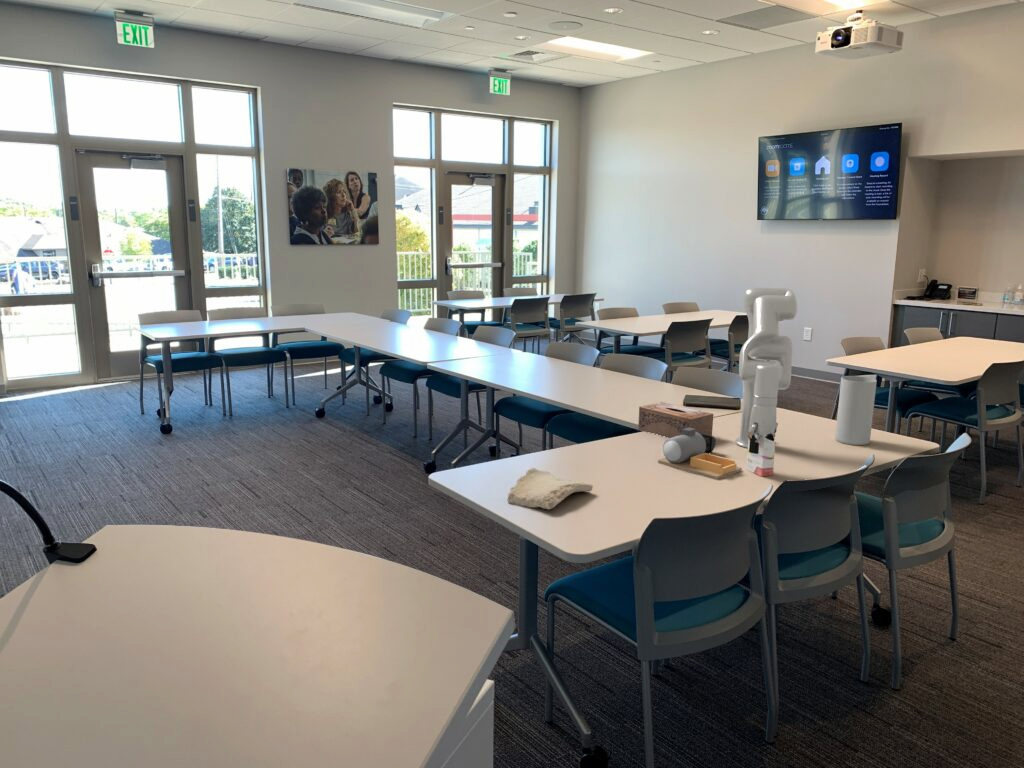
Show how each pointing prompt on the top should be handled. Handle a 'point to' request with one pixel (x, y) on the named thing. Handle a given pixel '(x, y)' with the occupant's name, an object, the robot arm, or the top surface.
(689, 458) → the motor mount
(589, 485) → the beige pottery fragment
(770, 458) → the ink cartridge box
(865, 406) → the cylinder vase
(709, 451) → the end cap
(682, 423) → the tissue box cover
